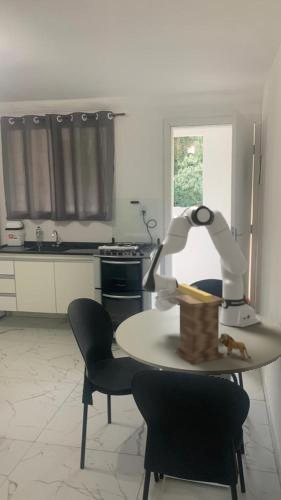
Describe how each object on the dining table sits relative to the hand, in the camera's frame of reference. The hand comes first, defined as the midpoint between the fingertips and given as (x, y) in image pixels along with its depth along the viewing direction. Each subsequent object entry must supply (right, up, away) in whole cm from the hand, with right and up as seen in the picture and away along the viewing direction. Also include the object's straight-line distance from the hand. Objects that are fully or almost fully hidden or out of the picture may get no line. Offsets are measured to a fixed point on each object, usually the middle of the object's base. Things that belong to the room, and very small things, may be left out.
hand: (184, 288), depth 181 cm
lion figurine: (+21, -29, -9) cm, 37 cm away
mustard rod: (+3, -3, -8) cm, 9 cm away
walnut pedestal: (+6, -29, -8) cm, 30 cm away
